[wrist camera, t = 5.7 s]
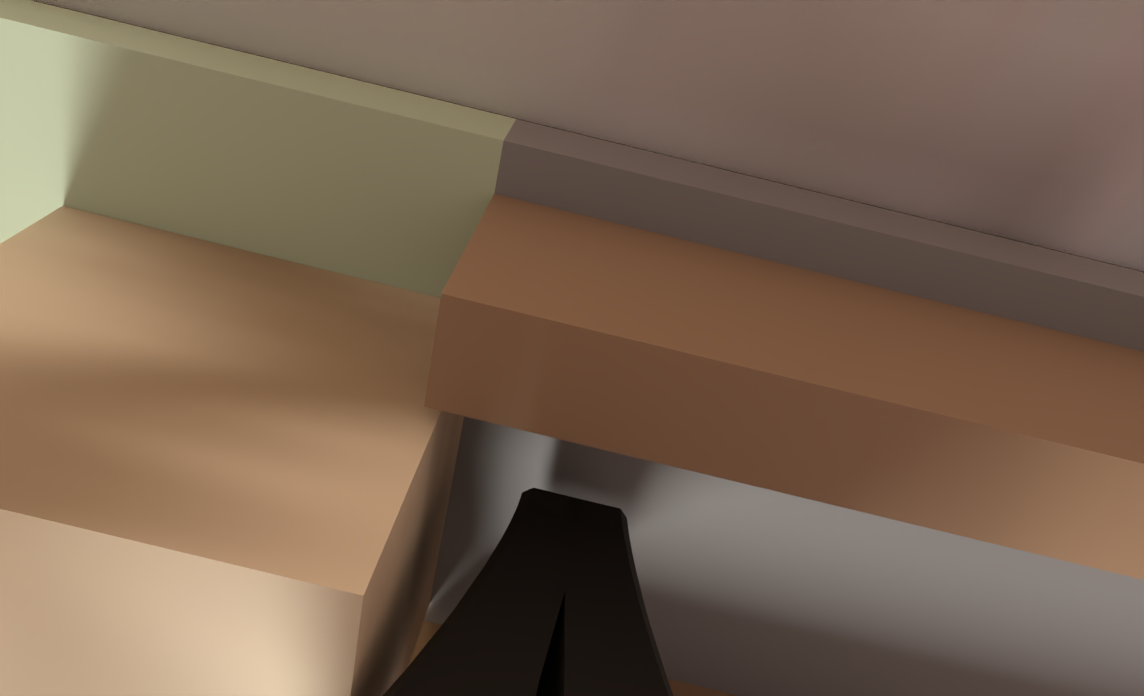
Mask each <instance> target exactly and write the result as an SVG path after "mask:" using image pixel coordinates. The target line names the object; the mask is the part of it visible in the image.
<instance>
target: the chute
mask: <svg viewBox="0 0 1144 696" xmlns="http://www.w3.org/2000/svg"><path fill="white" fill-rule="evenodd" d="M61 206H66V207H70V208H74V209H78V210H82V211H86V212H90V213H94V214H98V215H102V216H107V217H111V218H115V219H119V220H123V221H127V222H131V223H135V224H139V225H143V226H148V227H152V228H156V229H160V230H164V231H168V232H172V233H176V234H180V235H184V236H188V237H193V238H197V239H201V240H205V241H209V242H213V243H217V244H221V245H225V246H229V247H234V248H238V249H242V250H246V251H250V252H254V253H258V254H262V255H266V256H270V257H275V258H279V259H283V260H287V261H291V262H295V263H299V264H303V265H307V266H311V267H316V268H320V269H324V270H328V271H332V272H336V273H340V274H344V275H348V276H352V277H356V278H361V279H365V280H369V281H373V282H377V283H381V284H385V285H389V286H393V287H397V288H402V289H406V290H410V291H414V292H418V293H422V294H426V295H430V296H434V297H438V298H440V305H439V312H438V318H437V325H436V331H435V338H434V345H433V351H432V358H431V364H430V371H429V377H428V384H427V391H426V397H425V404H424V407H428V408H432V409H436V410H440V411H444V412H449V413H453V414H457V415H461V416H464V421H463V426H462V431H461V437H460V442H459V448H458V453H457V458H456V464H455V469H454V474H453V480H452V485H451V491H450V496H449V501H448V507H447V512H446V517H445V523H444V528H443V534H442V539H441V544H440V550H439V555H438V560H437V566H436V571H435V577H434V582H433V587H432V593H431V598H430V603H429V607H428V610H427V613H426V616H425V619H424V622H423V625H422V628H421V631H420V634H419V637H418V640H417V643H416V646H415V649H414V652H413V655H412V658H411V661H410V664H411V662H412V661H413V660H414V659H415V658H416V656H417V655H418V654H419V653H420V651H421V650H422V649H423V648H424V646H425V645H426V644H427V643H428V641H429V640H430V639H431V638H432V637H433V635H434V634H435V633H436V632H437V630H438V629H439V628H440V627H441V625H442V624H443V623H444V622H445V620H446V619H447V618H448V617H449V615H450V614H451V613H452V611H453V610H454V609H455V607H456V606H457V605H458V603H459V602H460V600H461V599H462V597H463V596H464V594H465V593H466V592H467V590H468V589H469V587H470V586H471V584H472V583H473V582H474V580H475V579H476V577H477V576H478V574H479V573H480V572H481V570H482V569H483V567H484V566H485V564H486V563H487V561H488V559H489V558H490V556H491V555H492V553H493V551H494V550H495V548H496V546H497V545H498V543H499V542H500V540H501V538H502V536H503V534H504V533H505V531H506V529H507V527H508V525H509V523H510V521H511V519H512V517H513V515H514V513H515V511H516V508H517V506H518V503H519V500H520V497H521V494H522V492H524V491H527V490H529V489H531V488H537V489H541V490H546V491H550V492H554V493H558V494H562V495H566V496H570V497H575V498H579V499H583V500H587V501H591V502H595V503H599V504H604V505H608V506H612V507H616V508H620V509H621V510H622V511H623V513H624V514H625V516H626V517H627V522H628V530H629V537H630V543H631V548H632V554H633V559H634V563H635V568H636V572H637V576H638V580H639V584H640V588H641V592H642V596H643V600H644V604H645V608H646V611H647V615H648V618H649V622H650V625H651V629H652V632H653V635H654V638H655V641H656V644H657V648H658V651H659V654H660V657H661V660H662V663H663V667H664V670H665V673H666V676H667V679H668V681H669V684H670V687H671V690H672V693H673V696H1144V272H1141V271H1137V270H1132V269H1128V268H1124V267H1120V266H1116V265H1112V264H1108V263H1104V262H1100V261H1096V260H1092V259H1087V258H1083V257H1079V256H1075V255H1071V254H1067V253H1063V252H1059V251H1055V250H1051V249H1046V248H1042V247H1038V246H1034V245H1030V244H1026V243H1022V242H1018V241H1014V240H1010V239H1006V238H1001V237H997V236H993V235H989V234H985V233H981V232H977V231H973V230H969V229H965V228H961V227H956V226H952V225H948V224H944V223H940V222H936V221H932V220H928V219H924V218H920V217H916V216H911V215H907V214H903V213H899V212H895V211H891V210H887V209H883V208H879V207H875V206H871V205H866V204H862V203H858V202H854V201H850V200H846V199H842V198H838V197H834V196H830V195H826V194H821V193H817V192H813V191H809V190H805V189H801V188H797V187H793V186H789V185H785V184H781V183H776V182H772V181H768V180H764V179H760V178H756V177H752V176H748V175H744V174H740V173H735V172H731V171H727V170H723V169H719V168H715V167H711V166H707V165H703V164H699V163H695V162H690V161H686V160H682V159H678V158H674V157H670V156H666V155H662V154H658V153H654V152H650V151H645V150H641V149H637V148H633V147H629V146H625V145H621V144H617V143H613V142H609V141H605V140H600V139H596V138H592V137H588V136H584V135H580V134H576V133H572V132H568V131H564V130H560V129H555V128H551V127H547V126H543V125H539V124H535V123H531V122H527V121H523V120H519V119H515V118H510V117H506V116H502V115H498V114H494V113H490V112H486V111H482V110H478V109H474V108H470V107H465V106H461V105H457V104H453V103H449V102H445V101H441V100H437V99H433V98H429V97H424V96H420V95H416V94H412V93H408V92H404V91H400V90H396V89H392V88H388V87H384V86H379V85H375V84H371V83H367V82H363V81H359V80H355V79H351V78H347V77H343V76H339V75H334V74H330V73H326V72H322V71H318V70H314V69H310V68H306V67H302V66H298V65H294V64H289V63H285V62H281V61H277V60H273V59H269V58H265V57H261V56H257V55H253V54H249V53H244V52H240V51H236V50H232V49H228V48H224V47H220V46H216V45H212V44H208V43H204V42H199V41H195V40H191V39H187V38H183V37H179V36H175V35H171V34H167V33H163V32H159V31H154V30H150V29H146V28H142V27H138V26H134V25H130V24H126V23H122V22H118V21H113V20H109V19H105V18H101V17H97V16H93V15H89V14H85V13H81V12H77V11H73V10H68V9H64V8H60V7H56V6H52V5H48V4H44V3H40V2H36V1H32V0H0V244H1V243H2V242H4V241H6V240H7V239H9V238H10V237H12V236H14V235H15V234H17V233H19V232H20V231H22V230H24V229H25V228H27V227H29V226H30V225H32V224H33V223H35V222H37V221H38V220H40V219H42V218H43V217H45V216H47V215H48V214H50V213H52V212H53V211H55V210H56V209H58V208H60V207H61ZM410 664H409V665H410Z"/></svg>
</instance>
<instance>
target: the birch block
mask: <svg viewBox="0 0 1144 696" xmlns="http://www.w3.org/2000/svg"><path fill="white" fill-rule="evenodd" d="M439 305H440V298H438V297H434V296H430V295H426V294H422V293H418V292H414V291H410V290H406V289H402V288H397V287H393V286H389V285H385V284H381V283H377V282H373V281H369V280H365V279H361V278H356V277H352V276H348V275H344V274H340V273H336V272H332V271H328V270H324V269H320V268H316V267H311V266H307V265H303V264H299V263H295V262H291V261H287V260H283V259H279V258H275V257H270V256H266V255H262V254H258V253H254V252H250V251H246V250H242V249H238V248H234V247H229V246H225V245H221V244H217V243H213V242H209V241H205V240H201V239H197V238H193V237H188V236H184V235H180V234H176V233H172V232H168V231H164V230H160V229H156V228H152V227H148V226H143V225H139V224H135V223H131V222H127V221H123V220H119V219H115V218H111V217H107V216H102V215H98V214H94V213H90V212H86V211H82V210H78V209H74V208H70V207H66V206H61V207H60V208H58V209H56V210H55V211H53V212H52V213H50V214H48V215H47V216H45V217H43V218H42V219H40V220H38V221H37V222H35V223H33V224H32V225H30V226H29V227H27V228H25V229H24V230H22V231H20V232H19V233H17V234H15V235H14V236H12V237H10V238H9V239H7V240H6V241H4V242H2V243H1V244H0V696H383V694H384V693H385V692H386V691H387V690H388V689H389V688H390V687H391V686H392V684H393V683H394V682H395V681H396V680H397V679H398V678H399V676H400V675H401V674H402V673H403V672H404V671H405V670H406V668H407V667H408V666H409V664H410V661H411V658H412V655H413V652H414V649H415V646H416V643H417V640H418V637H419V634H420V631H421V628H422V625H423V622H424V619H425V616H426V613H427V610H428V607H429V603H430V598H431V593H432V587H433V582H434V577H435V571H436V566H437V560H438V555H439V550H440V544H441V539H442V534H443V528H444V523H445V517H446V512H447V507H448V501H449V496H450V491H451V485H452V480H453V474H454V469H455V464H456V458H457V453H458V448H459V442H460V437H461V431H462V426H463V421H464V416H461V415H457V414H453V413H449V412H444V411H440V410H436V409H432V408H428V407H424V404H425V397H426V391H427V384H428V377H429V371H430V364H431V358H432V351H433V345H434V338H435V331H436V325H437V318H438V312H439Z"/></svg>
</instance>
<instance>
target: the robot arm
mask: <svg viewBox="0 0 1144 696" xmlns="http://www.w3.org/2000/svg"><path fill="white" fill-rule="evenodd" d="M383 696H673V693H672V690H671V687H670V684H669V681H668V679H667V676H666V673H665V670H664V667H663V663H662V660H661V657H660V654H659V651H658V648H657V644H656V641H655V638H654V635H653V632H652V629H651V625H650V622H649V618H648V615H647V611H646V608H645V604H644V600H643V596H642V592H641V588H640V584H639V580H638V576H637V572H636V568H635V563H634V559H633V554H632V548H631V543H630V537H629V530H628V522H627V517H626V516H625V514H624V513H623V511H622V510H621V509H620V508H616V507H612V506H608V505H604V504H599V503H595V502H591V501H587V500H583V499H579V498H575V497H570V496H566V495H562V494H558V493H554V492H550V491H546V490H541V489H537V488H531V489H529V490H527V491H524V492H522V494H521V497H520V500H519V503H518V506H517V508H516V511H515V513H514V515H513V517H512V519H511V521H510V523H509V525H508V527H507V529H506V531H505V533H504V534H503V536H502V538H501V540H500V542H499V543H498V545H497V546H496V548H495V550H494V551H493V553H492V555H491V556H490V558H489V559H488V561H487V563H486V564H485V566H484V567H483V569H482V570H481V572H480V573H479V574H478V576H477V577H476V579H475V580H474V582H473V583H472V584H471V586H470V587H469V589H468V590H467V592H466V593H465V594H464V596H463V597H462V599H461V600H460V602H459V603H458V605H457V606H456V607H455V609H454V610H453V611H452V613H451V614H450V615H449V617H448V618H447V619H446V620H445V622H444V623H443V624H442V625H441V627H440V628H439V629H438V630H437V632H436V633H435V634H434V635H433V637H432V638H431V639H430V640H429V641H428V643H427V644H426V645H425V646H424V648H423V649H422V650H421V651H420V653H419V654H418V655H417V656H416V658H415V659H414V660H413V661H412V662H411V664H410V665H409V666H408V667H407V668H406V670H405V671H404V672H403V673H402V674H401V675H400V676H399V678H398V679H397V680H396V681H395V682H394V683H393V684H392V686H391V687H390V688H389V689H388V690H387V691H386V692H385V693H384V694H383Z"/></svg>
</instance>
